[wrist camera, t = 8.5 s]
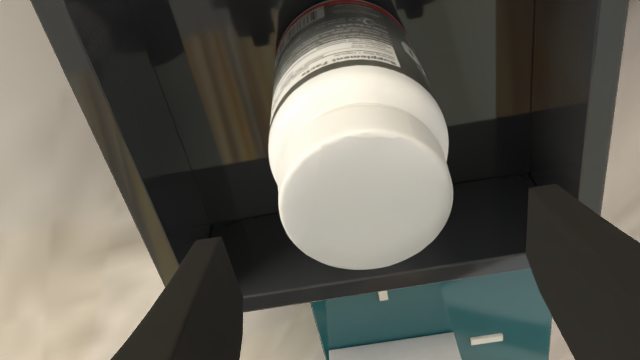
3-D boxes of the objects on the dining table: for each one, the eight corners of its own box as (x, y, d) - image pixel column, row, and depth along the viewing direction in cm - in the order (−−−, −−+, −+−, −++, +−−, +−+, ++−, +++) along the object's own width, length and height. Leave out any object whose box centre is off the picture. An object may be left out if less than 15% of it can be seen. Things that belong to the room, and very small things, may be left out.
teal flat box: (531, 199, 25) (560, 248, 22) (525, 344, 30) (547, 397, 27) (263, 242, 25) (259, 294, 23) (304, 375, 31) (305, 430, 28)
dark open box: (561, -220, 16) (660, -223, 12) (540, 173, 24) (595, 259, 19) (68, -115, 17) (-10, -82, 13) (201, 228, 25) (181, 322, 20)
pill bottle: (411, 116, 21) (467, 276, 14) (283, 128, 21) (278, 292, 14) (411, -14, 18) (481, 106, 11) (266, 0, 18) (248, 128, 12)
